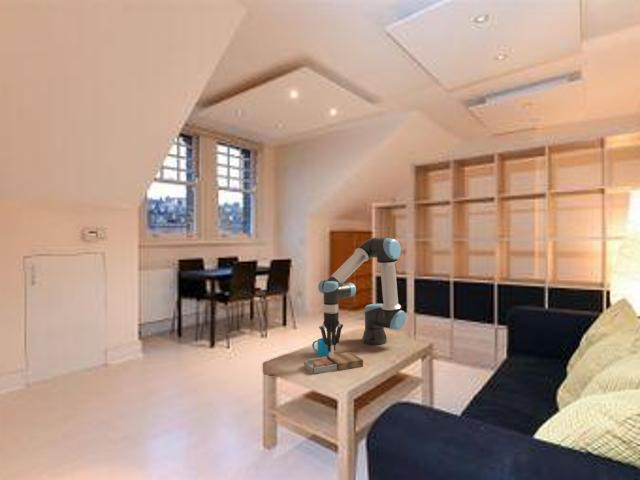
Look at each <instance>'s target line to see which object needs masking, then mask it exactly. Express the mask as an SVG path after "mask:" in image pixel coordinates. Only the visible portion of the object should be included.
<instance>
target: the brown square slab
mask: <svg viewBox="0 0 640 480" xmlns="http://www.w3.org/2000/svg"><path fill="white" fill-rule="evenodd" d="M327 359H328V360H330V361H331V362H332V363H333V364H337V370H336V371H339V372H340V371H345V370H351V369H355V368H356V369H357V368H361V367H364V359H362V358H361V357H360V356H358V355H356V354H354V353H353V352H351V351H345V352H339V353H334V358H330V357H329V355H327ZM333 364H332V365H333Z"/></svg>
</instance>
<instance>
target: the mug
mask: <svg viewBox="0 0 640 480" xmlns="http://www.w3.org/2000/svg"><path fill="white" fill-rule="evenodd" d="M316 343H317V349H316V347H315V344H316ZM331 344H332V338H331ZM311 346H312V347H311V348H312V349H313V351H314V352H316V353H317V356H319V357H320V358H322V357H323V356H324V357H327V355H329V351H328V347H327V345H326V344H324V341H323V337H321V338H318V339H317V340H315V341H313V342H312V344H311Z"/></svg>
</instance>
